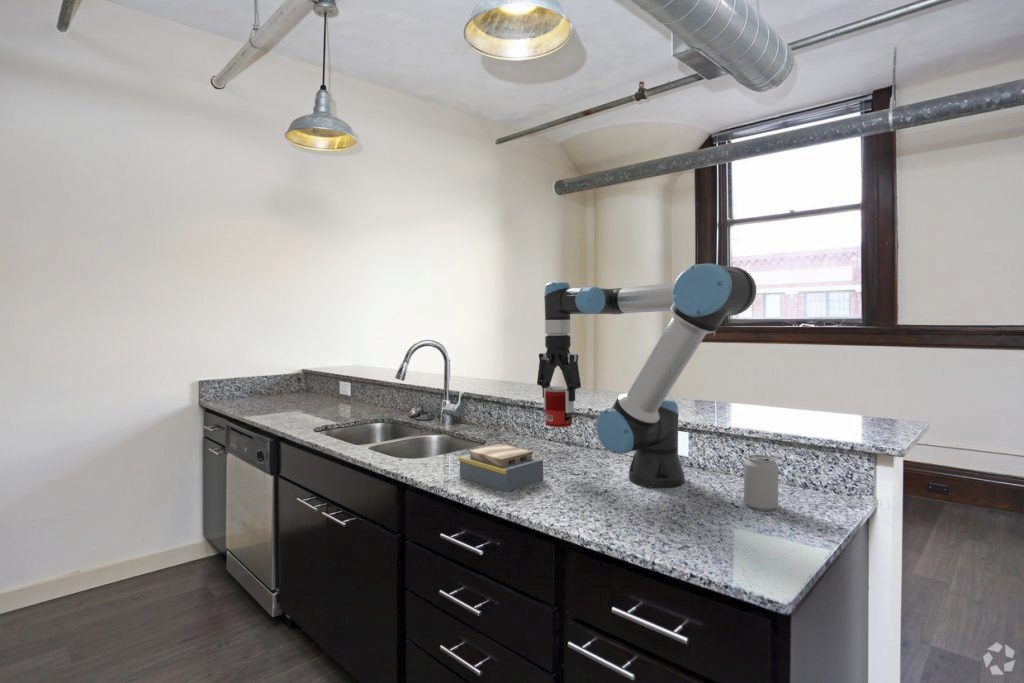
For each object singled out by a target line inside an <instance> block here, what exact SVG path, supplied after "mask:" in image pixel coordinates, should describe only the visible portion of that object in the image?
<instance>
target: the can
mask: <svg viewBox="0 0 1024 683" xmlns="http://www.w3.org/2000/svg"><path fill="white" fill-rule="evenodd" d="M746 458H747V459H746V460H745V461H744V462H743V503H745V504H746V506H747V507H749V508H750V509H752V510H753V509H754V510H756V511H762V512H763V511H764V512H766V511H773V510H775V508H777V507H778V506H779V464H778V463H777V462H776V458H775V457H773V456H770V455H766V454H765V455H764V454H749V455H747V456H746Z"/></svg>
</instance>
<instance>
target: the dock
mask: <svg viewBox="0 0 1024 683" xmlns="http://www.w3.org/2000/svg"><path fill="white" fill-rule="evenodd" d="M457 460H458V462H459V477H460V478H462V479H466V480H468V481H472V482H475V483H478V484H481V485H484V486H487V487H490V488H492V489H497V490H499V491H502V492H505V493H508V492H513V491H515V490H519V489H521V488H525V487H528V486H532V485H534V484H537V483H541V482H544V459H540V458H537V457H533V456H532V459H529V460H524V459H520V462H518V463H512V462H509V461H508V465H507V466H500V465H496V464H493V463H489V462H486V461H482V460H479V459H475V458H472V457H470V453H467V454H464V455H459V456H458V457H457Z"/></svg>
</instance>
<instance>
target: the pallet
mask: <svg viewBox="0 0 1024 683" xmlns="http://www.w3.org/2000/svg"><path fill="white" fill-rule="evenodd" d="M468 454H470V457H472V458H475V459H479V460H482V461H486V462H489V463H493V464H496V465H500V466H507V465H508V461H509V462H512V463H518V462H520V459H524V460H529V459H532V457H533V456H532V455H534V451H533V450H532V451H531V450H527V449H524V448H519V447H515V446H512V445H511V446H510V445H507V444H502V443H496V444H493V445H488V446H483V447H479V448H478V447H477V448H474V449H470V450H468Z"/></svg>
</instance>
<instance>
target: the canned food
mask: <svg viewBox="0 0 1024 683" xmlns="http://www.w3.org/2000/svg"><path fill="white" fill-rule="evenodd" d="M566 389H568V388H567V386H551V387H548V388H545V412H544V413H545V416H544V417H545V425H547V426H548V427H552V428H563V427H564V428H566V427H571V425H572V424H573V412H570V413H566V392H565V391H566Z"/></svg>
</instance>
